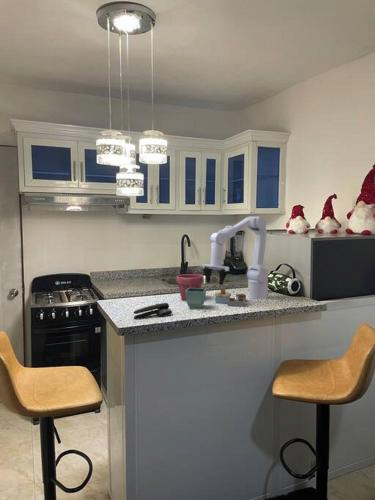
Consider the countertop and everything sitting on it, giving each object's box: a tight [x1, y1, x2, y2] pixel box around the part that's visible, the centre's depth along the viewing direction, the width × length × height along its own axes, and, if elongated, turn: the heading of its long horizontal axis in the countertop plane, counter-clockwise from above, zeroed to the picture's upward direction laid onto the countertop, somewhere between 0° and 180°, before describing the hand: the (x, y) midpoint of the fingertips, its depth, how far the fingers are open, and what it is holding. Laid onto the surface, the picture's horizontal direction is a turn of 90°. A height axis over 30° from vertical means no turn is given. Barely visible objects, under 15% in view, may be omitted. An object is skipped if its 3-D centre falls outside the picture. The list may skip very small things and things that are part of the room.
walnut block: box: [235, 293, 247, 303], centre depth 202 cm, size 4×4×4 cm
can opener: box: [133, 302, 173, 320], centre depth 173 cm, size 18×7×6 cm, turn 119°
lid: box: [214, 287, 232, 297], centre depth 199 cm, size 8×8×4 cm
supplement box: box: [247, 265, 269, 294], centre depth 229 cm, size 9×9×15 cm
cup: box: [215, 296, 231, 305], centre depth 200 cm, size 7×7×4 cm
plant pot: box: [176, 273, 204, 302], centre depth 208 cm, size 14×14×13 cm
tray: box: [227, 297, 246, 308], centre depth 194 cm, size 8×8×3 cm
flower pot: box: [185, 287, 207, 310], centre depth 189 cm, size 9×9×9 cm
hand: (214, 283), depth 196 cm, fingers open, 7 cm apart
